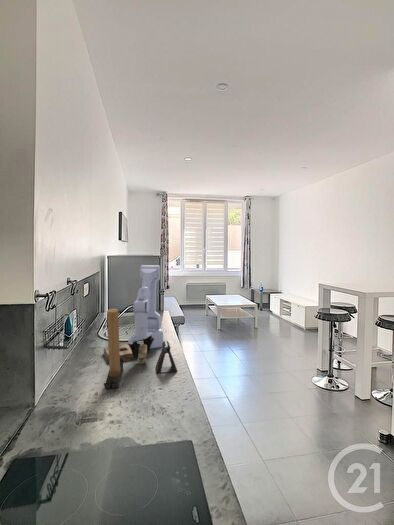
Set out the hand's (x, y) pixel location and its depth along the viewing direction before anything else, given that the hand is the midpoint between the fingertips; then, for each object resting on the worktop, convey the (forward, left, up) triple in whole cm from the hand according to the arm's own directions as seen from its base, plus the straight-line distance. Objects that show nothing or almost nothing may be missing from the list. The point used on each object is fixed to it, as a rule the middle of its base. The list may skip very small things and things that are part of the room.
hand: (141, 355), depth 139 cm
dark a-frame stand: (-7, +13, -4) cm, 15 cm away
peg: (0, 0, -3) cm, 3 cm away
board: (+5, -13, -3) cm, 14 cm away
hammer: (+15, +13, -4) cm, 20 cm away
